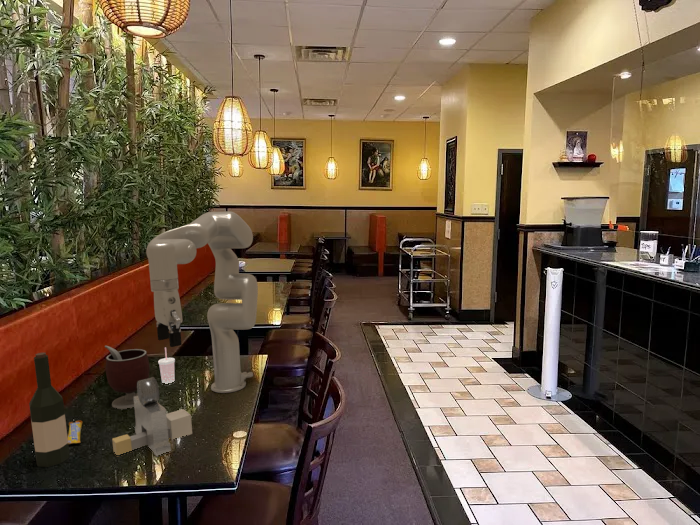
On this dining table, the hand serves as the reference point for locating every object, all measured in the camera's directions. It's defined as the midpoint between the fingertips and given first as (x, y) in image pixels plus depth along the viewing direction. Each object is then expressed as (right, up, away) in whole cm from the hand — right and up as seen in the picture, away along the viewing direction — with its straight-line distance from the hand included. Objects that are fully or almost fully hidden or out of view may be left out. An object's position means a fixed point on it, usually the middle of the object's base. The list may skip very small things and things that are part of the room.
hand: (169, 342), depth 149 cm
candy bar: (-31, -30, +6) cm, 43 cm away
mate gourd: (-25, -26, +30) cm, 47 cm away
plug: (-4, -29, -1) cm, 29 cm away
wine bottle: (-29, -31, -9) cm, 43 cm away
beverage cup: (-17, -23, +48) cm, 56 cm away
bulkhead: (-5, -29, -1) cm, 29 cm away
